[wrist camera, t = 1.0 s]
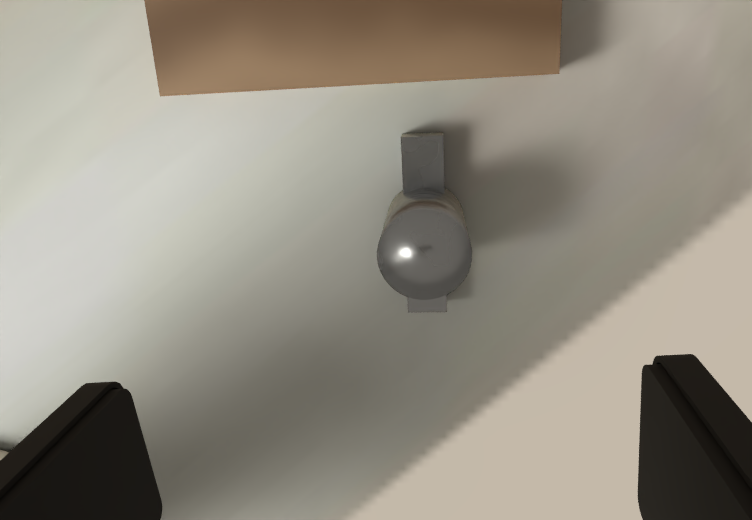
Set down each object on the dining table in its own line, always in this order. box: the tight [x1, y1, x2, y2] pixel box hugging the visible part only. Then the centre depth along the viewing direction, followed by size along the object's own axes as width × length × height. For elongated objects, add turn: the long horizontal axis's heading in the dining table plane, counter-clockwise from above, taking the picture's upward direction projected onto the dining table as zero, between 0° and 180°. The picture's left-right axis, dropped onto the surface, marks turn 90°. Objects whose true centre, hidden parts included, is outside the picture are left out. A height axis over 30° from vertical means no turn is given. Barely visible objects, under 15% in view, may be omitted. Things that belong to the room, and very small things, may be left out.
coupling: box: [377, 132, 472, 312], centre depth 28 cm, size 9×4×6 cm, turn 3°
